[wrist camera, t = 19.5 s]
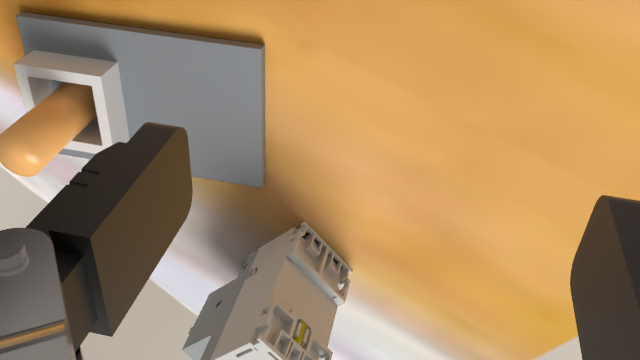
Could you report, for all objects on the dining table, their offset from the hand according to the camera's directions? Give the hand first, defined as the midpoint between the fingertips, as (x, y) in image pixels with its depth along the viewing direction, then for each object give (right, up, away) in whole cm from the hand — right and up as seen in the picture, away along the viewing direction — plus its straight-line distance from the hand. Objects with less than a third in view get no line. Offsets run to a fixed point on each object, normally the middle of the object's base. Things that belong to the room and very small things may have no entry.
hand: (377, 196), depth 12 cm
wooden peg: (-23, +8, +44) cm, 50 cm away
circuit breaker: (-5, -9, +53) cm, 54 cm away
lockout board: (-17, +8, +44) cm, 48 cm away
